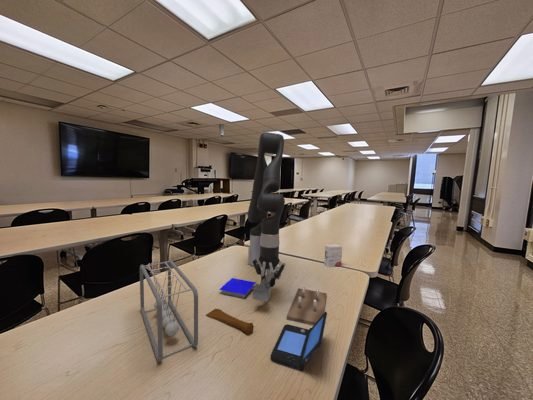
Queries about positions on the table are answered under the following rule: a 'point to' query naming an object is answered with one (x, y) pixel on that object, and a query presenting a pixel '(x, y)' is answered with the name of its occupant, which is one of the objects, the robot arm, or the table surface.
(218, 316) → the primitive tool
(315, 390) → the table surface
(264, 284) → the grey stepped block
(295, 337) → the handheld game console
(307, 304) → the tool cradle
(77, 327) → the table surface
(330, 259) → the ink box
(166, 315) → the newton's cradle
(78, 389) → the table surface
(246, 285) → the blue square pad
